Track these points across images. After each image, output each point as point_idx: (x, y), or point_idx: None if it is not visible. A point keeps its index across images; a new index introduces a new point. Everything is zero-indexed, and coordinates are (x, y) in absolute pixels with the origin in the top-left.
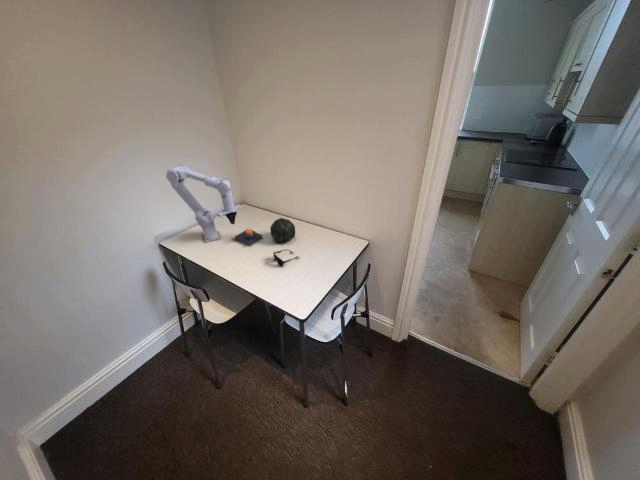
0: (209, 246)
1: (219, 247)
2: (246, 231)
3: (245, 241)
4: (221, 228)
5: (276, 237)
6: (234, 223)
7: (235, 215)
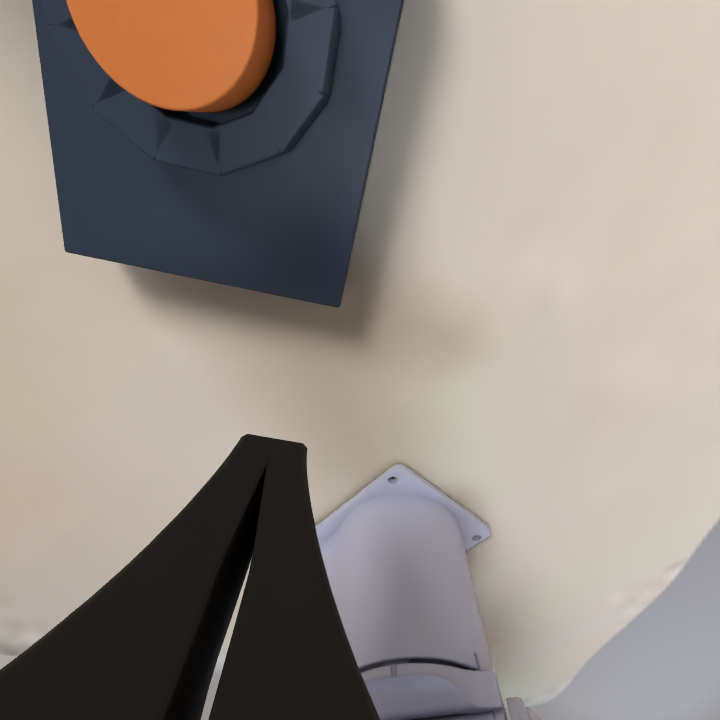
0: (554, 457)
1: (556, 360)
2: (221, 62)
3: (398, 19)
4: None
5: None
6: (254, 438)
7: (16, 706)
